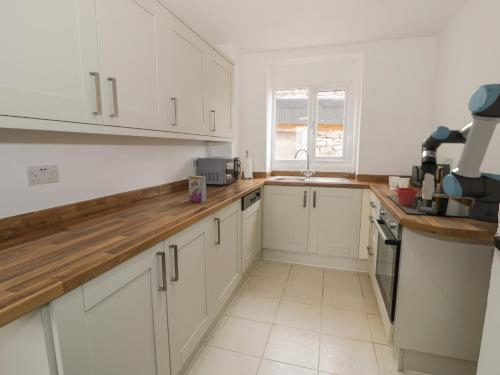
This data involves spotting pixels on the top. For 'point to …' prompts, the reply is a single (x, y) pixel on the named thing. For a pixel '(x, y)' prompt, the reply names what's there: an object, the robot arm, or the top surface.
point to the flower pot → (406, 196)
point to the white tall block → (428, 186)
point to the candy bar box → (197, 188)
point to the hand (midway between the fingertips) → (428, 191)
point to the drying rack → (426, 208)
